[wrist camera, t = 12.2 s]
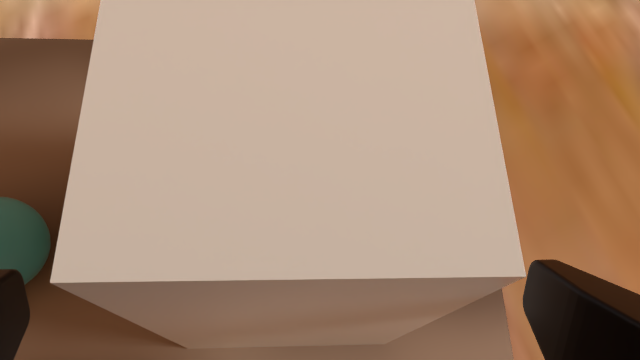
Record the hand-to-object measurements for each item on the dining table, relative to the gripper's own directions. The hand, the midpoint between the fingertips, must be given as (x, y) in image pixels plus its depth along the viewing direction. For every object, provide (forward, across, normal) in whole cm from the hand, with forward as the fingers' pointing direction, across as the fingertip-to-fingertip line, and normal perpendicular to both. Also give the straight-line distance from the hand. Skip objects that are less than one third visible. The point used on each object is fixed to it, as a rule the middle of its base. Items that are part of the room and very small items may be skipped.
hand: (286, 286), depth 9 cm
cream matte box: (+8, 0, +4) cm, 9 cm away
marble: (+7, +9, +3) cm, 11 cm away
